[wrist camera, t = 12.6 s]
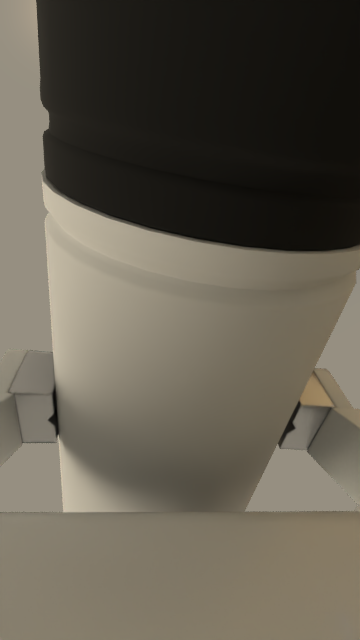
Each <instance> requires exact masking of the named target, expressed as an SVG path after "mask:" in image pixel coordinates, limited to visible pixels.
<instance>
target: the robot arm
mask: <svg viewBox="0 0 360 640" xmlns="http://www.w3.org/2000/svg"><path fill="white" fill-rule="evenodd" d="M58 435H59V432H58V416H57V400H56V385H55V373H54V359H53V352H44V351H33V350H29V351H28V350H17V349H9V350H8V351H7V352H6V353H5V355H4V357H3V358H2V360H1V362H0V467H1V466H2V465H3V464H4V462H6V461H7V460H8V459H9V458H10V456H12V455H13V454H14V452H16V451H17V450H18V449H19V448H20V447H21V446H22V443H56V442H57V438H58ZM278 445H279V447H280V449H295V450H308V451H307V452H308V453H309V454H310V455H311V456H312V457H313V458H314V459H315V460H316V461H317V463H318V464H319V465H320V466H321V467H322V468H323V469H324V470H325V471H326V472H327V473H328V474H329V475H330V476H331V477H332V478H333V479H334V480H335V481H336V482H337V484H339V486H340V487H341V488H342V489H343V490H344V491H345V492H346V493H347V494H348V495H349V496H350V497H351V498H352V499H353V500H354V501H355V502H356V503H357V504H358V506H357V507H356V509H355V510H354V511H319V512H317V511H312V512H311V511H307V512H305V511H304V512H303V511H302V512H0V640H360V410H359V409H354V408H353V407H352V405H351V404H350V402H349V401H348V399H347V398H346V396H345V395H344V393H343V392H342V390H341V389H340V387H339V385H338V384H337V382H336V381H335V379H334V378H333V376H332V375H331V373H330V372H329V371H328V370H326V369H321V368H314V370H313V372H312V374H311V376H310V378H309V380H308V382H307V384H306V387H305V389H304V391H303V393H302V395H301V397H300V399H299V401H298V403H297V405H296V407H295V409H294V411H293V413H292V415H291V417H290V419H289V421H288V423H287V425H286V428H285V430H284V432H283V434H282V436H281V438H280V440H279V442H278Z"/></svg>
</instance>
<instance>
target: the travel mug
mask: <svg viewBox="0 0 360 640" xmlns="http://www.w3.org/2000/svg"><path fill="white" fill-rule="evenodd" d="M36 2H37V20H38V40H39V58H40V77H41V79H40V96H41V101H42V104H43V106H44V107H45V108H46V109H47V110H48V112H49V120H50V122H49V129H47V130H46V131H44V134H43V146H44V164H45V169H44V170H43V171H42V188H43V198H44V204H45V207H46V209H47V210H48V211H49V213H48V215H47V217H46V219H45V234H46V250H47V265H48V280H49V296H50V312H51V327H52V343H53V359H54V373H55V385H56V400H57V416H58V432H59V435H58V436H59V452H60V467H61V483H62V499H63V512H245V509H246V507H247V505H248V503H249V501H250V499H251V497H252V495H253V493H254V491H255V489H256V487H257V485H258V483H259V481H260V479H261V477H262V475H263V473H264V470H265V468H266V466H267V464H268V462H269V460H270V458H271V456H272V454H273V452H274V450H275V448H276V446H277V444H278V442H279V440H280V438H281V436H282V434H283V432H284V430H285V428H286V425H287V423H288V421H289V419H290V417H291V415H292V413H293V411H294V409H295V407H296V405H297V403H298V401H299V399H300V397H301V395H302V393H303V391H304V389H305V387H306V384H307V382H308V380H309V378H310V376H311V374H312V372H313V370H314V368H315V366H316V364H317V362H318V360H319V358H320V356H321V354H322V352H323V350H324V348H325V345H326V343H327V341H328V339H329V337H330V335H331V333H332V331H333V329H334V327H335V325H336V323H337V321H338V319H339V317H340V315H341V313H342V311H343V309H344V307H345V304H346V302H347V300H348V298H349V296H350V294H351V292H352V290H353V287H354V286H355V284H356V270H359V268H360V0H36Z"/></svg>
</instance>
